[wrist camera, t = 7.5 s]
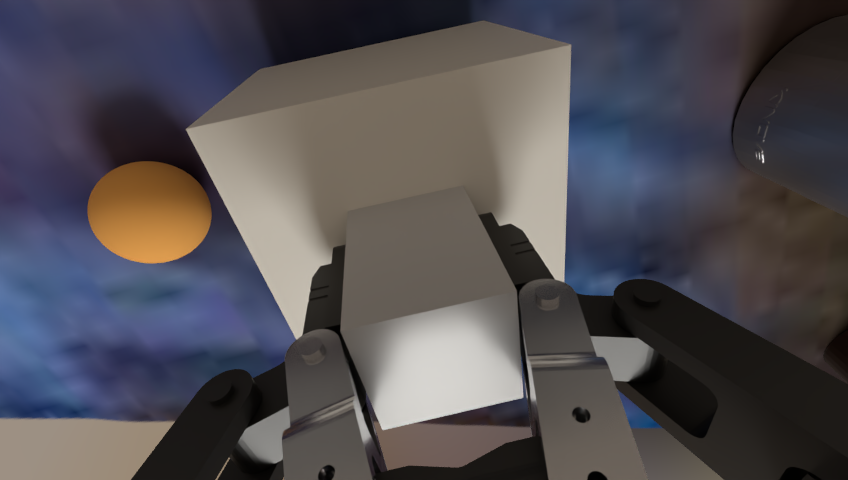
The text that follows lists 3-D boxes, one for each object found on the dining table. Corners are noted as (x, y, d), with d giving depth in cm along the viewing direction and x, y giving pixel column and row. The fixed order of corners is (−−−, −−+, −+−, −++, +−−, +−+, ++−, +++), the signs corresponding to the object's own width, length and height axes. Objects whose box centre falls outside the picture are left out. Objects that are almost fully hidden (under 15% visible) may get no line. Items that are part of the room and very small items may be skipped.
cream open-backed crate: (483, 20, 18) (716, 84, 6) (499, 214, 23) (634, 438, 12) (259, 69, 17) (61, 229, 6) (330, 252, 23) (299, 516, 12)
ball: (196, 137, 20) (152, 176, 16) (239, 219, 23) (211, 271, 19) (100, 158, 20) (31, 202, 16) (154, 237, 23) (108, 293, 19)
